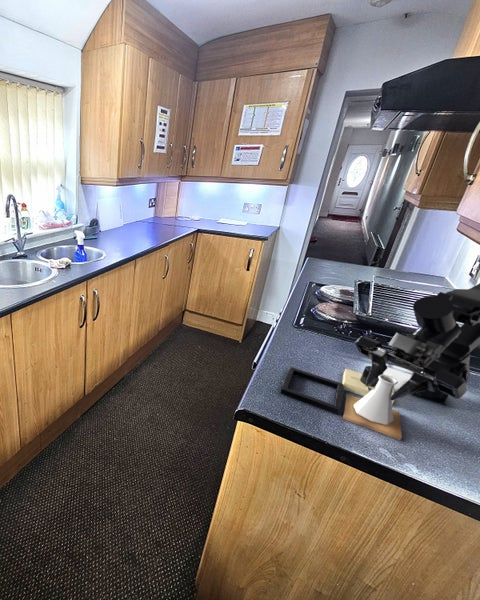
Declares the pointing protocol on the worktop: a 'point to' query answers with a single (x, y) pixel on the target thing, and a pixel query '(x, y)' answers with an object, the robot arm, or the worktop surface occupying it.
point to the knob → (365, 376)
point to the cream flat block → (356, 383)
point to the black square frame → (311, 400)
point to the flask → (378, 401)
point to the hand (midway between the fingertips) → (378, 392)
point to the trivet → (390, 429)
